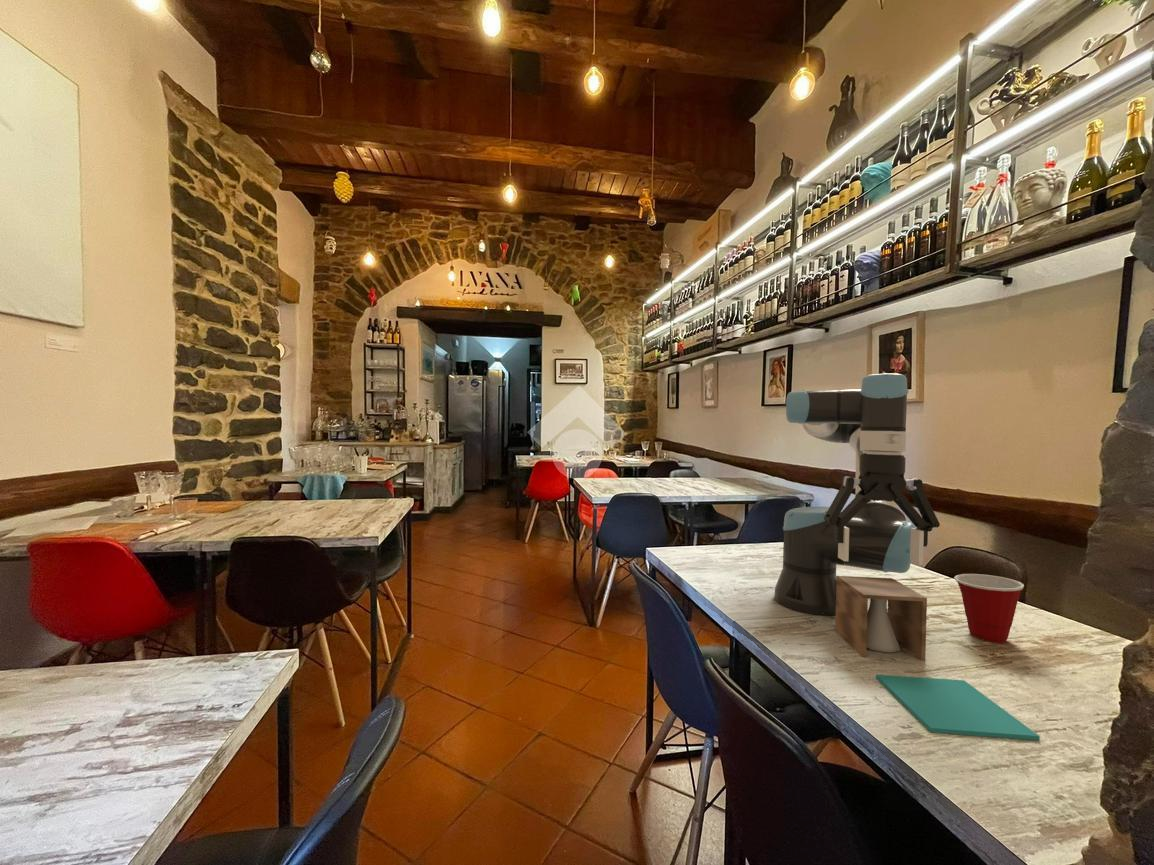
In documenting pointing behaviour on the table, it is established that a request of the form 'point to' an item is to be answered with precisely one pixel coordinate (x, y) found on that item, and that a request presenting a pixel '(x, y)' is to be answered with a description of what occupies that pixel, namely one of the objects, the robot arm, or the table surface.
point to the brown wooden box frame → (902, 611)
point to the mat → (954, 707)
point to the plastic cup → (989, 605)
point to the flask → (880, 628)
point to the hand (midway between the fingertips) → (879, 561)
